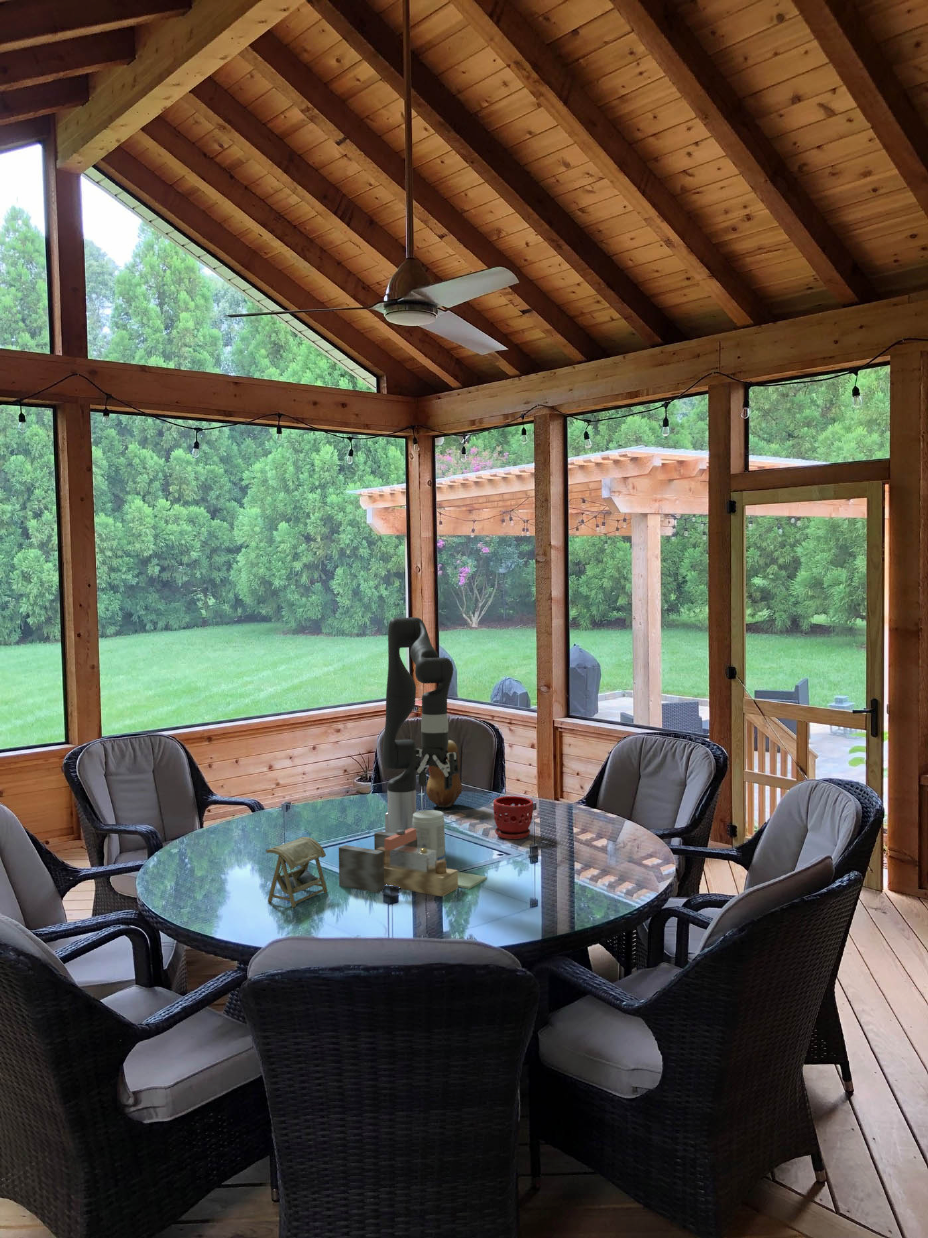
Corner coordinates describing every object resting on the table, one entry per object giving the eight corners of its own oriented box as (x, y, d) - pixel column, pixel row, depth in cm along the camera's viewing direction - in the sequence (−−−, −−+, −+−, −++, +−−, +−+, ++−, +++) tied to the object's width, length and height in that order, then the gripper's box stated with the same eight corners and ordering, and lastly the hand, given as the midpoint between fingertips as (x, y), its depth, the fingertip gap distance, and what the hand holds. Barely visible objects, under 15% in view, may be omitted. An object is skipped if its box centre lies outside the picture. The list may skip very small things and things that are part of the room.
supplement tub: (437, 856, 294) (436, 808, 293) (450, 864, 286) (450, 815, 285) (408, 860, 290) (407, 812, 289) (420, 868, 281) (420, 819, 281)
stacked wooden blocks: (339, 885, 266) (338, 847, 265) (380, 867, 283) (380, 831, 283) (430, 903, 251) (430, 862, 250) (468, 882, 268) (468, 844, 268)
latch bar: (383, 849, 262) (383, 835, 262) (410, 838, 273) (409, 825, 273) (391, 850, 261) (391, 837, 261) (417, 839, 272) (417, 826, 272)
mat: (438, 883, 267) (438, 881, 267) (456, 873, 276) (456, 871, 276) (469, 888, 262) (469, 886, 262) (486, 878, 271) (486, 876, 271)
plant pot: (487, 839, 312) (487, 803, 312) (501, 829, 325) (501, 794, 324) (526, 843, 308) (525, 806, 307) (538, 833, 320) (538, 797, 319)
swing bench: (294, 908, 248) (293, 852, 247) (265, 903, 252) (264, 847, 252) (328, 892, 261) (327, 838, 260) (300, 887, 265) (299, 834, 265)
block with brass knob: (390, 867, 266) (389, 846, 266) (400, 862, 270) (399, 842, 270) (426, 873, 260) (426, 852, 260) (436, 868, 264) (436, 847, 264)
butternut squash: (425, 803, 363) (424, 737, 362) (460, 802, 365) (460, 737, 364) (428, 812, 350) (427, 744, 349) (464, 811, 351) (464, 743, 350)
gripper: (406, 729, 267) (406, 787, 267) (447, 733, 258) (448, 793, 259) (422, 726, 273) (423, 783, 273) (463, 730, 265) (464, 788, 265)
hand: (435, 787), depth 266 cm, fingers open, 8 cm apart
